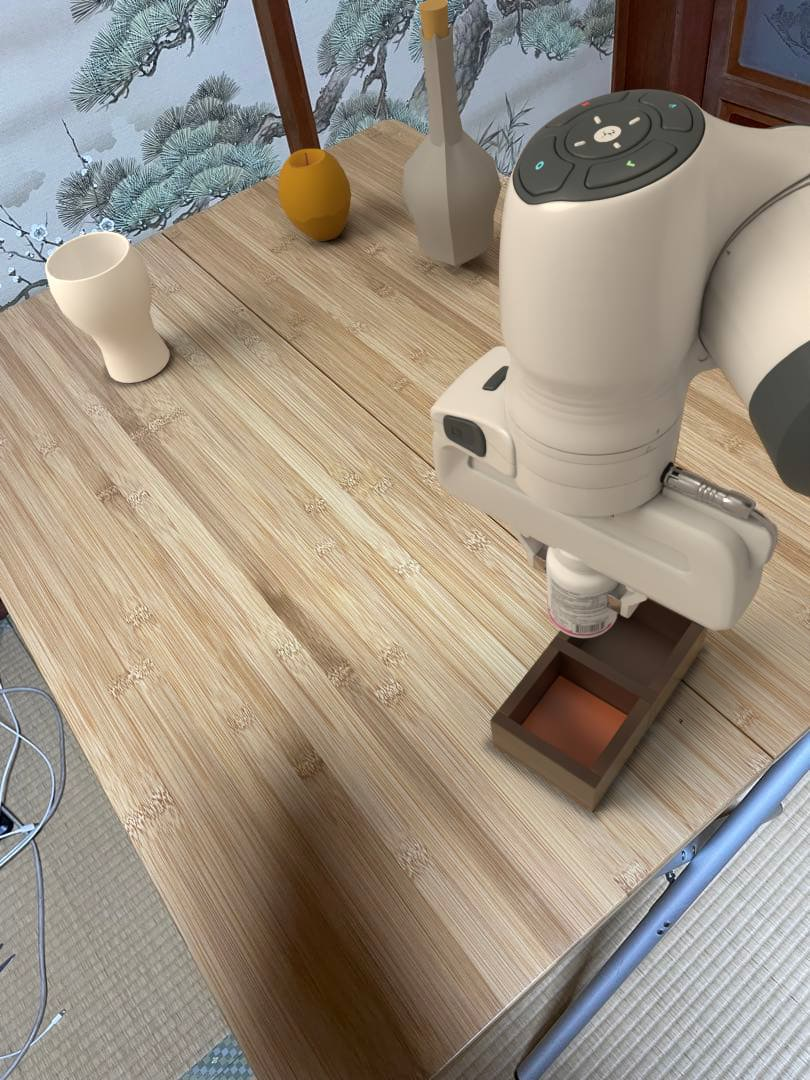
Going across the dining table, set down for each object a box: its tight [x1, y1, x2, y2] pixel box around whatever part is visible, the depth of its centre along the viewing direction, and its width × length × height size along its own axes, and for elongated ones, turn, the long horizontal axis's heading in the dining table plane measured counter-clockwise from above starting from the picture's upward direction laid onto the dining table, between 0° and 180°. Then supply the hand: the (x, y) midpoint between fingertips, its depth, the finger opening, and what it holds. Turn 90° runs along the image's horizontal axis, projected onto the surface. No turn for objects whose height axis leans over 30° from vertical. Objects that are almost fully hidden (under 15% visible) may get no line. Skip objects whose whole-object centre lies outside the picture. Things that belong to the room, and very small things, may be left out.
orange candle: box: [277, 148, 352, 242], centre depth 111 cm, size 10×10×12 cm
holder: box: [489, 598, 708, 813], centre depth 66 cm, size 17×9×5 cm, turn 141°
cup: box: [44, 231, 171, 384], centre depth 97 cm, size 11×11×15 cm
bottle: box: [401, 0, 503, 269], centre depth 95 cm, size 11×11×30 cm
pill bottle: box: [546, 546, 619, 638], centre depth 54 cm, size 5×5×8 cm
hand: (582, 583), depth 54 cm, fingers closed on pill bottle, 4 cm apart
